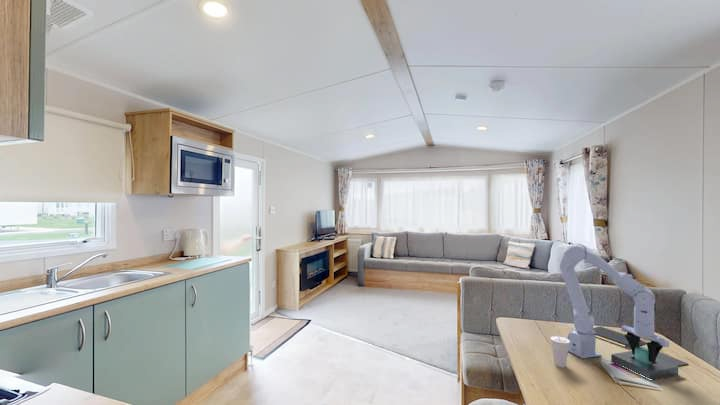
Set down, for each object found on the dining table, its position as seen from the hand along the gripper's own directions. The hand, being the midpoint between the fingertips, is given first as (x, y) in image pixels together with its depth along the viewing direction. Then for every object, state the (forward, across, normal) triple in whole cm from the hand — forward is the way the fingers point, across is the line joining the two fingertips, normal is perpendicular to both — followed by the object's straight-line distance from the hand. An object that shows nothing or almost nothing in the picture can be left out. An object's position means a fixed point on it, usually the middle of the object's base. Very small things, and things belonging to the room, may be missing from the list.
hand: (643, 357), depth 118 cm
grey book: (+5, +23, -16) cm, 28 cm away
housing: (+4, 0, 0) cm, 4 cm away
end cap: (+4, 0, 0) cm, 4 cm away
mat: (+4, +3, -14) cm, 15 cm away
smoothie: (+4, +10, +28) cm, 30 cm away
